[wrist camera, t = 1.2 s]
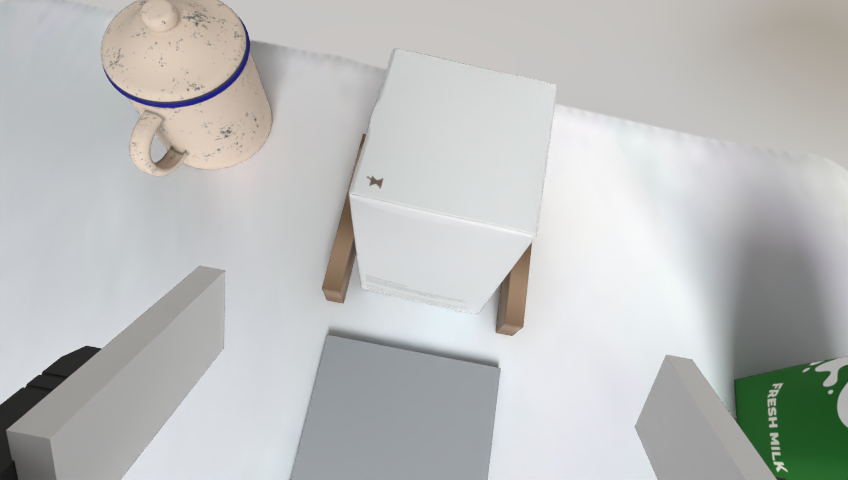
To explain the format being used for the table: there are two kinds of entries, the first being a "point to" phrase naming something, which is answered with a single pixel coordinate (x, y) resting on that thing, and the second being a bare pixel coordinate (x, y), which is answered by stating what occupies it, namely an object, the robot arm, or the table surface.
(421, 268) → the supplement box
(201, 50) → the teacup with lid
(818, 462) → the milk carton
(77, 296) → the table surface
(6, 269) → the table surface
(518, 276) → the walnut cradle
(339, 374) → the slate mat
